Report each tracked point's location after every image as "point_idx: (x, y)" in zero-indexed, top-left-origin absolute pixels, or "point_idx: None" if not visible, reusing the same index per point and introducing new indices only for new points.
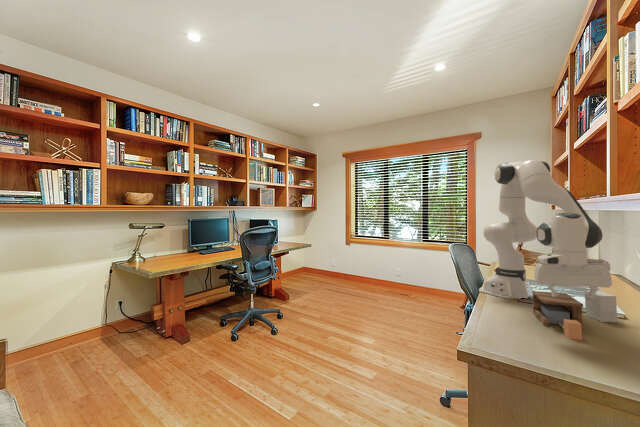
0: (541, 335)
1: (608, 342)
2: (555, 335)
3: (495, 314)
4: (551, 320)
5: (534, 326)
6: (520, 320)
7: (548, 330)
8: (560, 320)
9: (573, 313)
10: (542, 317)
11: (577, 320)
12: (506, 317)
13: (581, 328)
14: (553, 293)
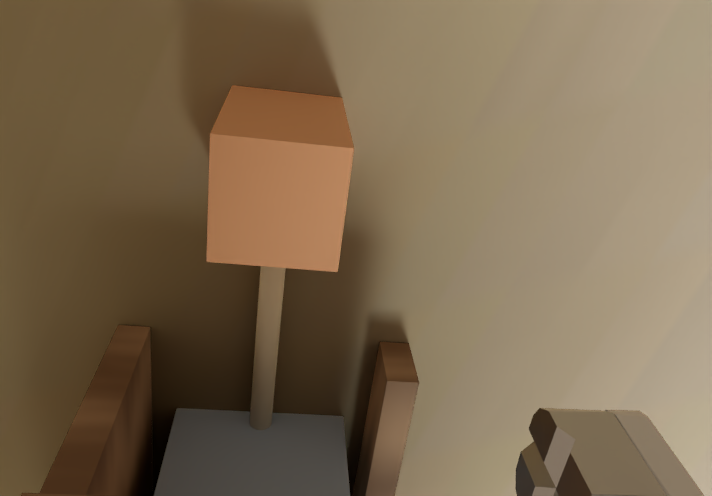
0: (562, 116)
1: (3, 84)
2: (427, 146)
3: None
4: (315, 432)
5: (502, 315)
6: None
7: (427, 253)
8: (245, 436)
9: (122, 494)
10: (406, 429)
11: (130, 394)
12: None
13: (217, 118)
14: (681, 465)
